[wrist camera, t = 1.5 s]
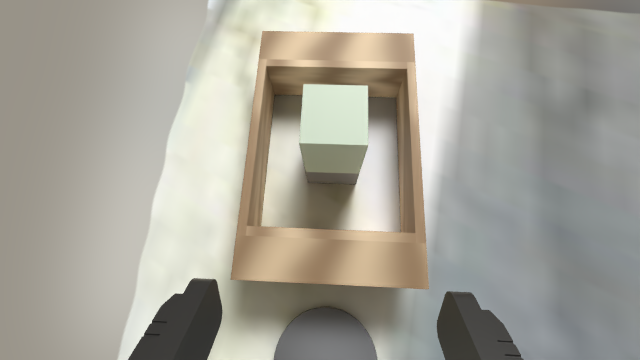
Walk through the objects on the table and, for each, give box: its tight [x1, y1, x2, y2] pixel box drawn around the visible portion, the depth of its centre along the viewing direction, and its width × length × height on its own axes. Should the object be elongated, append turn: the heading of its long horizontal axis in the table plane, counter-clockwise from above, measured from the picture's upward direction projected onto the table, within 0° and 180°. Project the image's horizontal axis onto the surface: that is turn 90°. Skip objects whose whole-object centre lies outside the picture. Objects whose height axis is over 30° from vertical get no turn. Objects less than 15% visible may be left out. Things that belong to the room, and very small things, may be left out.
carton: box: [231, 31, 429, 289], centre depth 29 cm, size 16×25×5 cm, turn 177°
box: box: [299, 84, 368, 184], centre depth 27 cm, size 5×5×10 cm
